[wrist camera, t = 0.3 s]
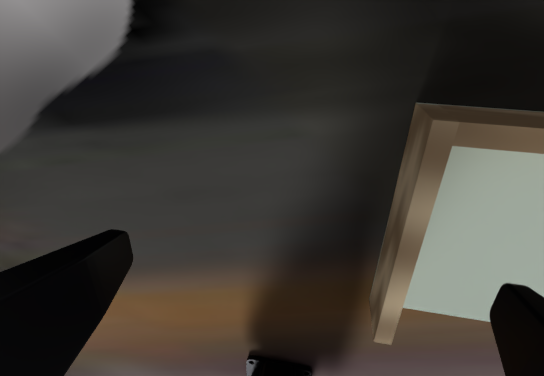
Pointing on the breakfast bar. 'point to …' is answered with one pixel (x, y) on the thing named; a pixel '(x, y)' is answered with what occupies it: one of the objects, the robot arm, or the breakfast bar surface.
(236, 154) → the breakfast bar surface
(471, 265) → the mat
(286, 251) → the breakfast bar surface
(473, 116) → the corner walls
